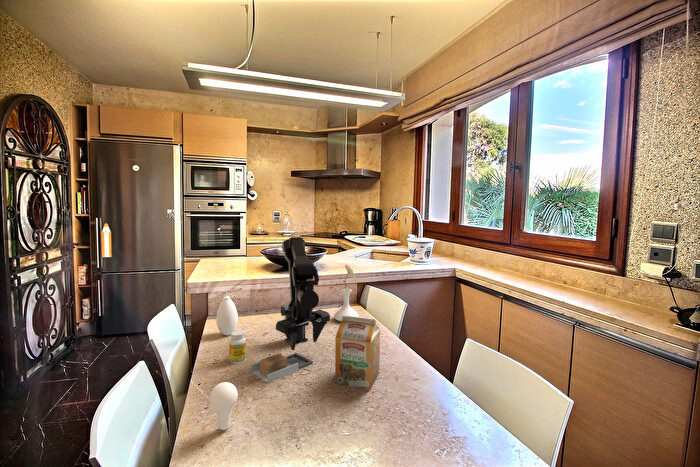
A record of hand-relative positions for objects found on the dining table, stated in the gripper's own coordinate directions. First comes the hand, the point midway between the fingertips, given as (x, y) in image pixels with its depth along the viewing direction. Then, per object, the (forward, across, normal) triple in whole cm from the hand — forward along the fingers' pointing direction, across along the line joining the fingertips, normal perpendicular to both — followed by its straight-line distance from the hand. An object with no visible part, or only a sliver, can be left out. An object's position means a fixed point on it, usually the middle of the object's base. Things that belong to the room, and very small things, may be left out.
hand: (304, 345), depth 114 cm
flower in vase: (+5, -39, -19) cm, 44 cm away
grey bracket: (+5, +12, 0) cm, 13 cm away
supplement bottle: (+5, +16, -15) cm, 22 cm away
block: (+5, +12, 0) cm, 13 cm away
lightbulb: (+5, +35, +15) cm, 39 cm away
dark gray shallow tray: (+5, +3, 0) cm, 6 cm away
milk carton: (+5, -4, +21) cm, 22 cm away
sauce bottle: (+5, +8, -39) cm, 40 cm away
